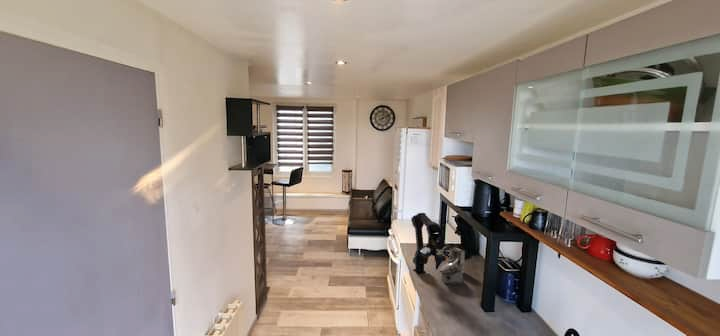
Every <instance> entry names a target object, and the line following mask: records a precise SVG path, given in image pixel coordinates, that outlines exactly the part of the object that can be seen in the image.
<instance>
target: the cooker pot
mask: <svg viewBox="0 0 720 336" xmlns="http://www.w3.org/2000/svg"><path fill="white" fill-rule="evenodd" d="M439 272H440V273H441V282H442V283H443V284H444V285H447V286H449V287H453V288H454V287H455V288H456V286H457V287H459V286H462V285H463V276H464V275H463V274H464V273H462V272H461V271H459V270H458V268H455V267H454V269H453V268H448V269H446V270H444V271H441V270H439Z"/></svg>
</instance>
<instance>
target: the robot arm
mask: <svg viewBox="0 0 720 336" xmlns="http://www.w3.org/2000/svg"><path fill="white" fill-rule="evenodd" d="M410 220H411V225H412V227H413V228H414V231H415V241H416V242H415V243H416V244H415V245H416V251H415V253H414V257H413V258H412V263H413V264H414V265H415V268H413V271H414V272H415V273H416V274H417V275H420V274H426V270H425V265H427V264H428V261H429V257H431V256H433V257H434V262H435V270H438V268H439V267H440V266H441V264H442V262H445V261H446V262H447V256H446V255H444V254H442V253H439V251H441V250H443V249H444V248H445V246H446V245H445V241H443V239H442V236H443V231H442V229H441V226H440V225H439V223H437V222H435V221H432V219H430V217H428V216H427V214H426V213H425V212H418V213H417V214H415V215H413V216H412V217H411V219H410ZM424 226H425V227H426V229H425V230H426V232H427V236H428V237H427V243H426V245H424V236H423V227H424ZM438 253H439V254H438Z"/></svg>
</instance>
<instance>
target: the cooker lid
mask: <svg viewBox="0 0 720 336" xmlns="http://www.w3.org/2000/svg"><path fill="white" fill-rule="evenodd" d="M457 261H458V258H456V257H455V258H453V259H452V260H451V261H449V260H446V264H444V265H443V266H441V268H440V270H441V271H444V270H446V269H448V268H449V267H451V266H452V265H454V264H455V263H456V262H457ZM440 270H439V271H440Z"/></svg>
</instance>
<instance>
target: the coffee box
mask: <svg viewBox="0 0 720 336" xmlns="http://www.w3.org/2000/svg"><path fill="white" fill-rule="evenodd" d="M448 256H449V259H448V261H451V260H452V259H453V258H455V257H456V258H458V261H457V262H456V263H455V264H454V265H452V266H451V267H449V268H453V269H454V267H455V268H458V270H459V271H461V272H462V274H464V273H465V262H466V260H465V259H466V250H464V249H461V248H459V247H456V246H453V247H451V248H450V249H449V255H448Z"/></svg>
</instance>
